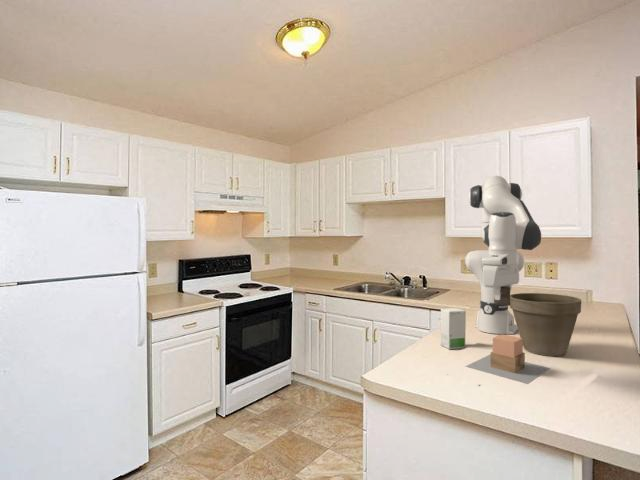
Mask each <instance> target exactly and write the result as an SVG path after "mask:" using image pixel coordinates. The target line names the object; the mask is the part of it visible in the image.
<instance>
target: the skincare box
mask: <svg viewBox="0 0 640 480" xmlns="http://www.w3.org/2000/svg"><path fill="white" fill-rule="evenodd" d="M466 315H467V314H466V310H464V309H460V308H457V307H456V308H440V342H439V343H440V346H441V347H444V348H445V349H447V350H455V349H457V350H458V349H465V348H466Z"/></svg>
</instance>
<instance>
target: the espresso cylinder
mask: <svg viewBox="0 0 640 480" xmlns="http://www.w3.org/2000/svg"><path fill="white" fill-rule="evenodd" d="M500 294H501V295H502V299H501V300H495V294H494V304H496V305H503V306H508V305H509V306H510V295H511V291H510V287H506V286H502V287H501V290H500ZM509 306H508V307H509Z"/></svg>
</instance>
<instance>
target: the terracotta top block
mask: <svg viewBox="0 0 640 480" xmlns="http://www.w3.org/2000/svg"><path fill="white" fill-rule="evenodd" d="M523 350H524V347H523V338H520V337H517V336H513V335H509V334H498V335H497V336H494V337H492V352H493V353H497V354H501V355H505V356H510V357H516V356H518V355H520V354H522V353H524V352H523Z"/></svg>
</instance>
